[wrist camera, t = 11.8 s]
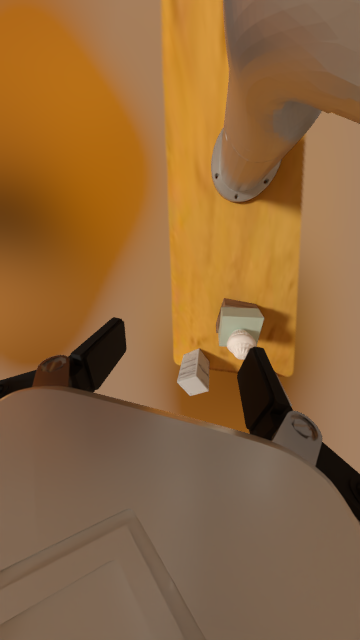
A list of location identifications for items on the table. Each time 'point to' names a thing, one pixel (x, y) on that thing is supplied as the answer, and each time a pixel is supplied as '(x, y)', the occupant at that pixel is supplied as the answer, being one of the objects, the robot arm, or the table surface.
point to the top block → (239, 322)
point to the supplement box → (194, 373)
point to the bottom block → (234, 305)
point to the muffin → (240, 343)
